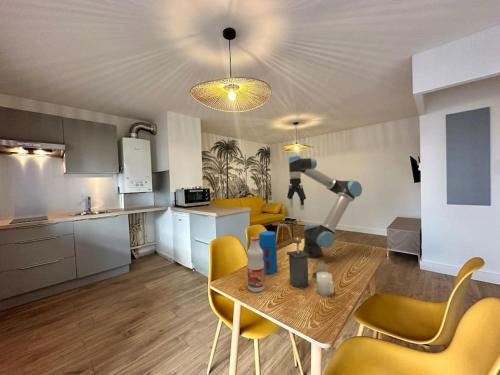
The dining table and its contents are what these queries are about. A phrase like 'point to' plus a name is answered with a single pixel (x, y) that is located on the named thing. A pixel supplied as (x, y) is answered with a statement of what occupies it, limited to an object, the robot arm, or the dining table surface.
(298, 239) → the plunger
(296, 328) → the dining table surface
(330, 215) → the robot arm
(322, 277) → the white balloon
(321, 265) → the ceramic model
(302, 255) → the press body
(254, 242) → the fruit juice
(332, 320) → the dining table surface
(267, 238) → the thermos
